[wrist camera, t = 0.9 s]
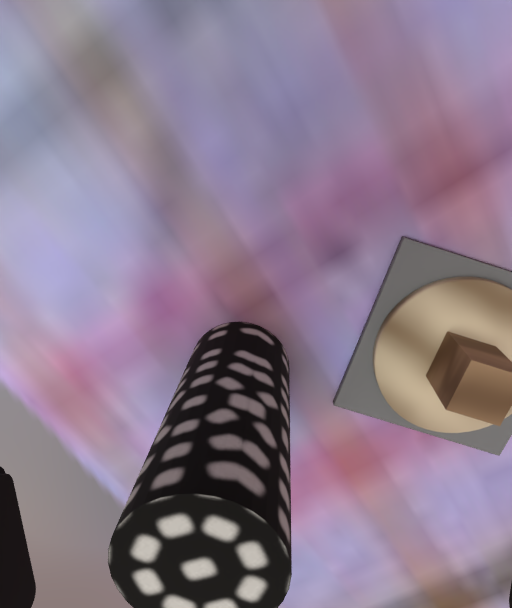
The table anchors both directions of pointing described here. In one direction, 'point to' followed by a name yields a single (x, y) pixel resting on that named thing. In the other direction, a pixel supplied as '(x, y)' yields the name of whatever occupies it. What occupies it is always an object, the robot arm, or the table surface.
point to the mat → (396, 286)
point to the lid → (448, 355)
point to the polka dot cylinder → (214, 484)
